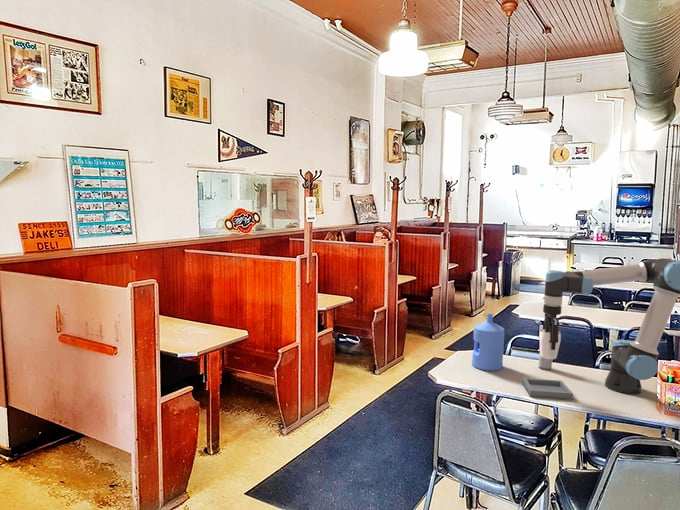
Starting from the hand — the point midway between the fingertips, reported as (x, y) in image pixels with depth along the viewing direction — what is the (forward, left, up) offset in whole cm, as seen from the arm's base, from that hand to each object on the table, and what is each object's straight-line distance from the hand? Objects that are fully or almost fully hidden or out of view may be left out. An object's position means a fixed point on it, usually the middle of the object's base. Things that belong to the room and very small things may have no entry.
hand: (548, 353), depth 231 cm
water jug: (+22, -31, -19) cm, 42 cm away
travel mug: (-8, -34, -19) cm, 40 cm away
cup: (0, 0, -2) cm, 2 cm away
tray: (0, 0, -18) cm, 18 cm away
